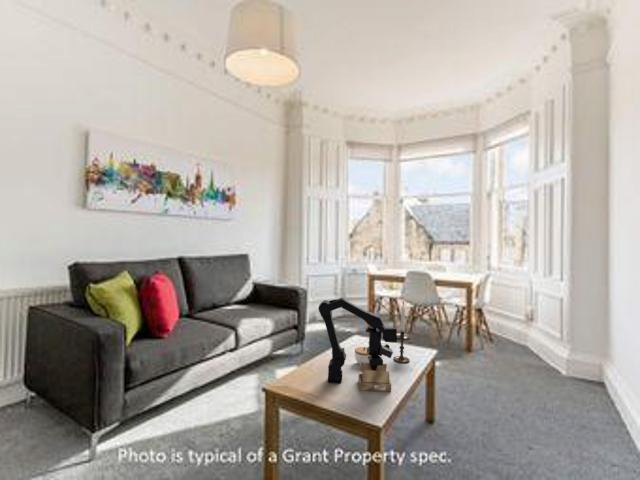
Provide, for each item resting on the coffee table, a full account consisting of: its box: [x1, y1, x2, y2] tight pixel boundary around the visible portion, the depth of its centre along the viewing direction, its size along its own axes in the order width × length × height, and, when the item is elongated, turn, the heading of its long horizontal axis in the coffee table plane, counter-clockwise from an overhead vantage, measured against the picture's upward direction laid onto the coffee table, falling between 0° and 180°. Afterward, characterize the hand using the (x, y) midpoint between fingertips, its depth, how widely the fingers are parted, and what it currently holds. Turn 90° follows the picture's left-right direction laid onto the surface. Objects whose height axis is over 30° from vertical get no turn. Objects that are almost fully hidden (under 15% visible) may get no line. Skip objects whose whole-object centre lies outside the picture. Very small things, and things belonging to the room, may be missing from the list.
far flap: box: [360, 363, 388, 373], centre depth 172 cm, size 12×5×1 cm
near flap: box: [361, 370, 390, 383], centre depth 162 cm, size 12×5×1 cm
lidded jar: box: [354, 346, 370, 366], centre depth 195 cm, size 11×11×9 cm
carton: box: [357, 372, 392, 393], centre depth 167 cm, size 15×11×4 cm
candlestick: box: [392, 300, 413, 364], centre depth 201 cm, size 11×11×35 cm
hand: (374, 373), depth 169 cm, fingers closed
